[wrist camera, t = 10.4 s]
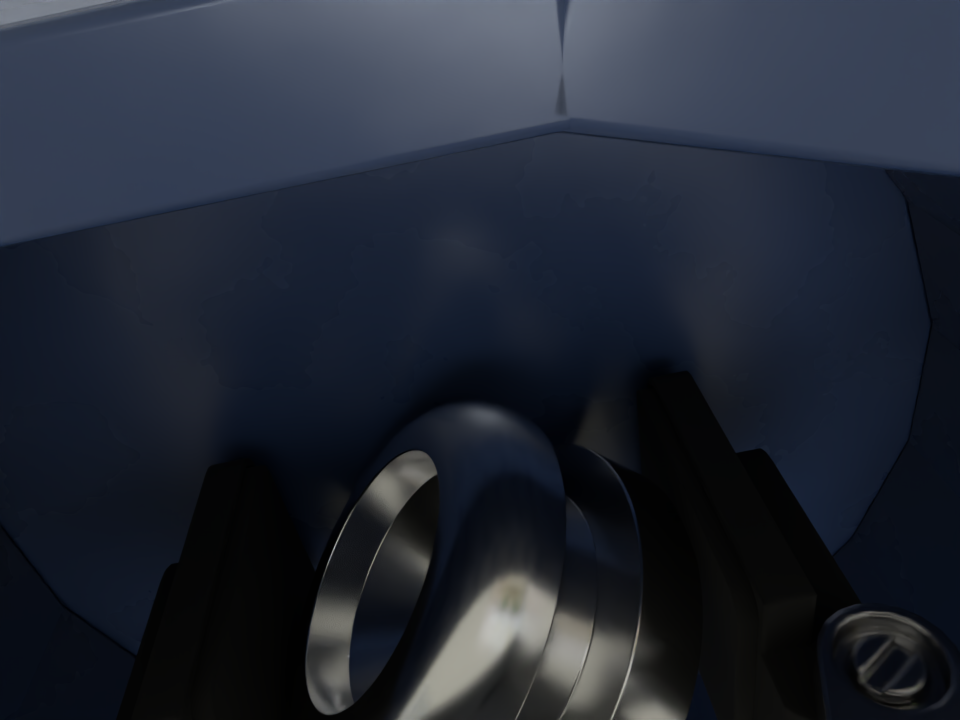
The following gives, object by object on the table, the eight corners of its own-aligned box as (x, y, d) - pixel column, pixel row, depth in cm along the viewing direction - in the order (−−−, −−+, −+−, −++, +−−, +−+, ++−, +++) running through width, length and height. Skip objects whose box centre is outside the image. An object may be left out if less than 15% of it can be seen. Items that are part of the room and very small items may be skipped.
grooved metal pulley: (447, 598, 13) (472, 938, 9) (293, 542, 12) (240, 900, 8) (632, 402, 11) (774, 725, 7) (466, 311, 10) (519, 633, 6)
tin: (188, 778, 16) (88, 1223, 11) (-392, 50, 8) (-2117, 476, 2) (881, 646, 16) (1123, 1039, 11) (1077, -264, 8) (2794, -568, 2)
